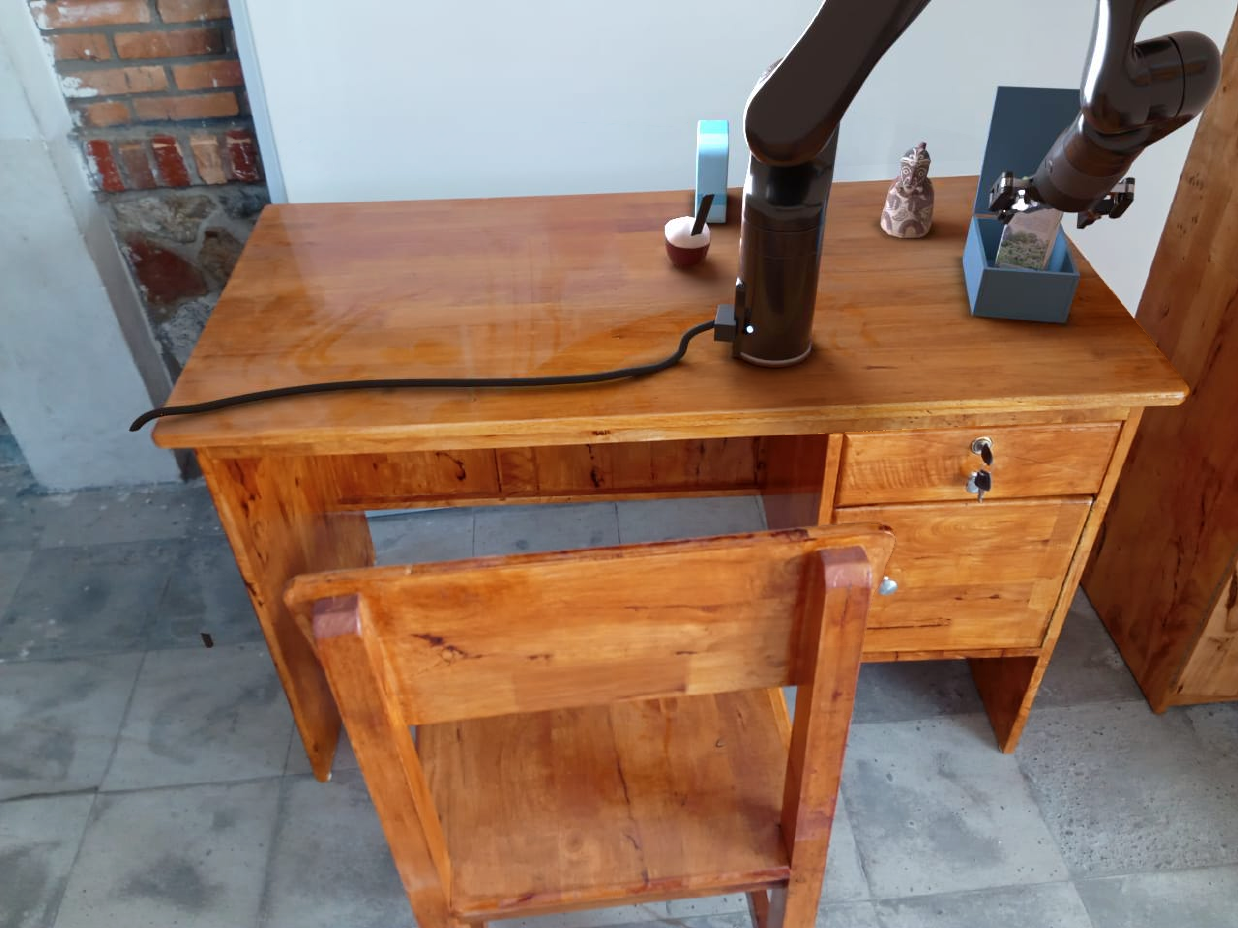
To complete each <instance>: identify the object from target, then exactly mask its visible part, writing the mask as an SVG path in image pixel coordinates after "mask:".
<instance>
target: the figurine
mask: <svg viewBox="0 0 1238 928" xmlns="http://www.w3.org/2000/svg"><path fill="white" fill-rule="evenodd" d="M927 145H928V143H927V142H925V141H920V142H919V143H918V146H915V147H914V146H913V147H911V148H909V149H908V150H907V151H906V152H904V155H903V157H902V158H900V171H899V175H897V176H896V178H894V179H893V180H892V182H891V184H890V186H889V188H888V191H887V196H886V200H885V203H884V207H883V210H882V213H881V217H880V226H881V229H882V230H883V231H884V232H886V234H888V235H889V236H893V237H897V238H900V239H905V238H906V239H913V238H916V239H917V238H922V237H924V236H925V235H927V234H928V233H929V232H930V229H931V227H932V223H933V217H934V208H935V207H934V206H935V189H934V184H933V182H932V180H931V178H929V177H928V174H929V171H930V165H931V164H932V163H931V162H932V160H931V156H930V155H931V154H930V153H929V151H928V150H927Z"/></svg>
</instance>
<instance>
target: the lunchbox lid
mask: <svg viewBox="0 0 1238 928" xmlns="http://www.w3.org/2000/svg"><path fill="white" fill-rule="evenodd" d="M1079 94H1080V88H1066V87H1065V88H1063V87H1062V88H1061V87H1037V86H1036V87H1035V86H1015V85H1014V86H1012V85H1011V86H1010V85H1008V86H1007V85H997V87H996V91H995V96H994V102H993V107H992V111H991V117H990V121H989V122H990V123H989V128H988V132H987V138H986V143H985V148H984V153H983V154H984V155H983V158H982V162H981V169H980V174H979V178H978V183H977V190H976V194H975V199H974V204H973V208H972V209H973V210H972V214H973V215H989V216H998V211H997V212H990V211H988V206H989V199H990V189H991V188H992V186H993V185H994V184H995V182H996V181H997V180H998V178H999V177H1000V176H1001V174H1002V173H1003V172H1006V171H1011V172H1014V177H1015V179H1023V178H1024V177H1025V176H1026V177H1030V176H1031V175H1034V174H1036V172H1037V170H1038V168H1039V166H1040V164H1041V162H1042V161H1043V159H1044V158H1045V156H1046V155H1047V153H1048V152H1049V151H1050V149H1051V148H1052V146H1053V145H1054V143H1055V142H1056V140H1057V139H1058V137H1059V136H1060V134H1061V133H1062V132H1063V131H1064V130H1065V129H1066V128H1067V127H1068V126H1069V125H1070V124H1071V123H1072V121H1073V120H1074V118H1075V117H1076V115H1077V114H1078V112H1079V111H1080V109H1081V106H1080V95H1079Z"/></svg>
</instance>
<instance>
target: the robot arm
mask: <svg viewBox="0 0 1238 928" xmlns="http://www.w3.org/2000/svg"><path fill="white" fill-rule="evenodd" d="M931 1H932V0H823V1H822V3H821V5H820V7H819V8H818V11H817V13H816V14H815V16H814V17H813V18H812V20H811V22H810V23H809V25H807V27H806V28H805V30H804V32H803V33H802V35H801V36H800V37H799V38H798V39H797V40H796V42H795V43H794V45H793V46H792V47H791V48H790V50H789V51H788V52H787V53H786V55H785V56H783V57H782V58H779V59H778V60H776V61H775V62H773V63H771V65H769V66H768V68H766V69H765V70H764V72H763V73H762V74H761V76H760V77H759V80H758V81H757V82H756V85H755V86H754V88H753V90H752V91H751V93H750V95H749V97H748V99H747V101H746V104H745V107H744V111H743V120H742V121H743V122H742V123H743V124H742V125H743V134H744V135H743V136H744V139H745V143H746V145H747V147H748V149H749V151H750V152H749V153H750V155H749V162H748V166H747V167H748V168H747V173H746V177H745V182H744V186H743V193H742V205H741V221H740V222H741V223H740V235H739V236H740V238H739V252H738V269H737V278H736V282H735V290H734V304H725V303H724V304H723V303H722V304H721V303H719V304H718V307H717V312H716V316H715V318H713V319H711V320H707V321H704V322H702V323H699V324H697V325H695V326H693V327H691V328H689V329H688V330H687V331H686V332H685V333H684V334H683V335H682V337H681V339H680V342H679V346H678V349H677V350H676V351H675V352H674V353H673V354H672V355H671V356H669V357H667V358H666V359H664V360H662V361H660V362H657V363H653V364H648V365H641V366H634V367H627V368H621V369H615V370H610V371H604V372H597V373H587V374H572V375H570V374H569V375H554V376H539V377H537V376H536V377H535V376H534V377H497V378H496V377H495V378H491V377H490V378H484V377H483V378H383V379H382V378H381V379H379V378H378V379H359V380H358V379H357V380H344V381H329V382H320V383H310V384H303V385H295V386H294V385H293V386H287V387H286V386H285V387H280V388H274V389H267V390H261V391H255V392H249V393H245V394H240V395H239V394H238V395H234V396H230V397H225V398H219V399H215V400H211V401H206V402H202V403H201V402H200V403H196V404H187V405H174V406H164V407H159V408H154V409H151V410H148V411H146V412H144V413H142V414H141V415H140V416H138V417H137V418H136V419H135V420H134V421H133V422H132V423H131V425H130V427H129V429H128V431H129V432H130V433H134V432H138V431H139V430H141V429H142V428H143V427H144V426H145V425H146V424H148V423H149V422H150V421H153V420H156V419H158V418H162V417H169V416H183V415H192V414H200V413H205V412H209V411H214V410H219V409H223V408H229V407H233V406H237V405H243V404H247V403H254V402H258V401H264V400H271V399H276V398H284V397H290V396H291V397H292V396H297V395H298V396H299V395H305V394H314V393H323V392H334V391H335V392H336V391H347V390H361V389H362V390H363V389H388V388H389V389H390V388H391V389H392V388H492V387H493V388H504V387H507V388H508V387H511V388H512V387H515V388H516V387H541V386H542V387H544V386H559V385H560V386H561V385H576V384H589V383H599V382H606V381H611V380H617V379H622V378H627V377H628V378H629V377H636V376H643V375H648V374H652V373H655V372H659V371H661V370H664V369H666V368H669V367H671V366H673V365H675V364H676V363H678V362H679V361H680V360H681V359H683V357H684V356H685V355H686V353H687V352H688V351H687V350H688V347H689V343H690V341H691V340H692V339H693V338H695V337H696V336H697V335H699V334H702V333H704V332H708V331H710V330H713V341H714V342H722V343H731V353H730V354H731V355H730V356H731V357H732V358H738V359H742V360H743V361H745V362H746V363H749V364H752V365H755V366H759V367H765V368H786V367H787V368H788V367H792V366H795V365H797V364H799V363H801V362H803V361H805V360H806V359H807V358H808V357H809V355H810V354H811V351H812V350H811V349H812V344H813V343H812V338H813V328H814V322H815V321H814V320H815V312H816V304H817V297H818V296H817V295H818V287H819V279H820V270H821V264H822V256H823V255H822V254H823V246H824V237H825V230H826V222H827V214H828V208H829V200H830V195H831V191H832V186H833V179H834V174H835V173H834V172H835V165H836V157H837V151H838V143H839V137H840V128H841V121H842V119H843V118H844V116H845V115H846V112H848V109H849V107H850V106H851V105H852V103H853V101H854V100H855V98H856V96H857V95H858V93H859V91H860V90H861V88H862V87H863V85H864V84H865V82H866V81H867V79H868V78H869V77H870V75H871V73H872V72H873V70H874V69H875V67H876V66H877V65H878V64H879V62H880V61H881V60H882V58H883V57H884V56H885V55H886V53H888V51H889V50H890V49H891V48H892V46H893V45H894V44H895V43H896V42H897V41H898V40H899V39H900V38H901V36H902V35H904V33H905V32H906V31H907V30H908V29H909V28H910V26H911V25H912V24H913V23H914V22H915V21H916V19H918V17H919V16H920V15H921V14H922V12H924V10H925V9H926V8H927V7H928V5H930V3H931ZM1095 1H1096V2H1095V9H1094V16H1093V21H1092V27H1091V33H1090V38H1089V43H1088V48H1087V51H1086V56H1085V60H1084V64H1083V68H1082V73H1081V77H1080V83H1079V84H1080V85H1079V89H1080V94H1079V95H1080V106H1081V109H1080V111H1079V112H1078V114H1077V115H1076V117H1075V118H1074V120H1073V121H1072V123H1071V124H1070V125H1069V126H1068V127H1067V128H1066V129H1065V130H1064V131H1063V132H1062V133H1061V134H1060V136H1059V137H1058V139H1057V140H1056V142H1055V143H1054V145H1053V146H1052V148H1051V149H1050V151H1049V152H1048V153H1047V155H1046V156H1045V158H1044V159H1043V161H1042V162H1041V164H1040V166H1039V168H1038V170H1037V172H1036V174H1034V175H1031V176H1030V177H1028V178H1027V180H1025V179H1015V177H1014V172H1011V171H1006V172H1003V173H1002V174H1001V176H1000V177H999V178H998V180H997V181H996V182H995V184H994V185H993V186H992V188H991V189H990V199H989V206H988V211H990V212H997V211H998V215H996V217H997V219H998V220H999V221H1001V224H1002V225H1008V224H1009V222H1010V221H1011V219H1012V218H1013V217H1014V215H1015V213H1018V212H1024V213H1026V214H1029V213H1032V212H1035V211H1039V210H1042V209H1047V210H1049V209H1053V208H1054V209H1056V210H1059V211H1062V212H1064V213H1068V214H1077V218H1076V229H1077V230H1085V228H1087V226H1088V227H1090V226H1092V225H1093V224H1094V223H1095V222H1096V221H1097V220H1101V219H1102V218H1103V216H1108V218H1109V219H1111V220H1116V219H1120V218H1121V217H1122V216H1123V214H1124V213H1126V211H1127V210H1128V209H1129V207H1130V206H1131V205H1132V203H1133V202H1134V200H1135V188H1136V177H1133V176H1128V177H1125V176H1126V174H1128V172H1129V170H1130V168H1131V167H1132V165H1133V163H1134V162H1135V161H1136V160H1137V159H1138V158H1139V157H1140V155H1141V154H1142V153H1143V152H1144V151H1145V149H1147V148H1148V147H1150V146H1151V145H1153V144H1155V143H1158V142H1160V141H1161V140H1163V139H1165V138H1166V137H1168V136H1169V135H1171V134H1172V133H1174V132H1176V131H1178V130H1179V129H1181V128H1182V127H1184V126H1185V125H1187V124H1188V123H1190V122H1191V121H1193V120H1194V119H1195V118H1196V117H1198V116H1199V115H1200V114H1201V113H1202V112H1203V111H1204V110H1205V109H1206V108H1207V107H1208V106H1209V104H1210V103H1211V101H1212V100H1213V98H1214V97H1215V95H1216V92H1217V91H1218V88H1219V85H1220V83H1221V79H1222V74H1223V59H1222V55H1221V52H1220V49H1219V47H1218V45H1217V44H1216V42H1214V40H1213V39H1212V38H1211V37H1209V36H1208V35H1207V34H1205V33H1202V32H1199V31H1195V30H1180V31H1175V32H1170V33H1166V34H1162V35H1159V36H1155V37H1151V38H1146V39H1143V40H1139V41H1136V38H1137V36H1138V33H1139V30H1140V29H1141V26H1142V24H1143V22H1144V20H1146V19H1147V17H1148V16H1149V15H1151V14H1152V13H1154V12H1155V11H1157V10H1158V9H1160V8H1163V7H1165V6H1167V5H1169V4H1171V3H1173V2H1175V1H1176V0H1095ZM1108 196H1109V198H1108ZM1016 197H1019V202H1018V204H1016ZM1031 199H1032V200H1033V201H1034V202H1035V203H1031ZM161 414H162V415H161ZM200 636H201V638H202V641H203V642H204V645H205V647H206V648H207V649H210V648H213V647H214V641H213V638H212V636H211V634H209V633H204V632H200Z"/></svg>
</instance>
